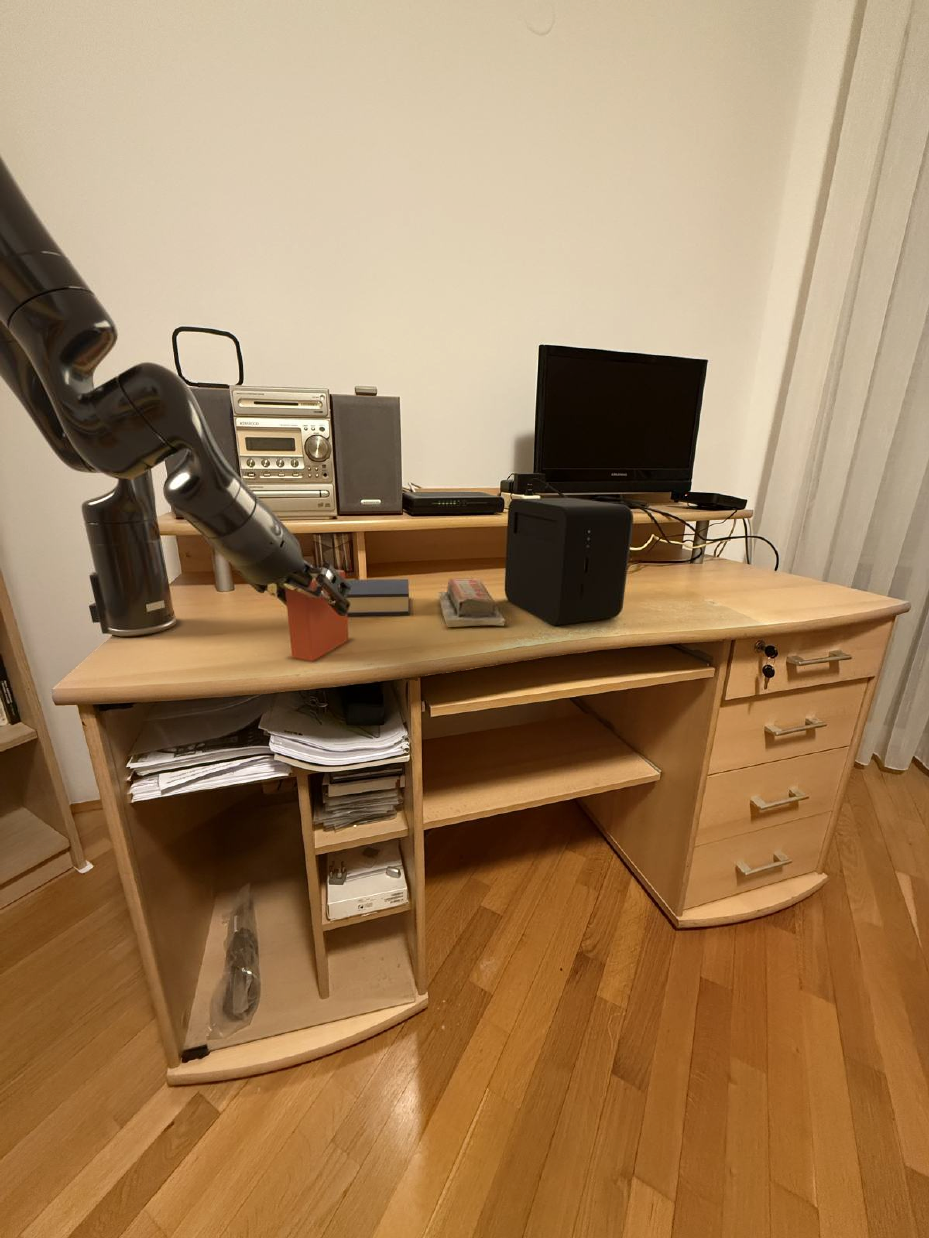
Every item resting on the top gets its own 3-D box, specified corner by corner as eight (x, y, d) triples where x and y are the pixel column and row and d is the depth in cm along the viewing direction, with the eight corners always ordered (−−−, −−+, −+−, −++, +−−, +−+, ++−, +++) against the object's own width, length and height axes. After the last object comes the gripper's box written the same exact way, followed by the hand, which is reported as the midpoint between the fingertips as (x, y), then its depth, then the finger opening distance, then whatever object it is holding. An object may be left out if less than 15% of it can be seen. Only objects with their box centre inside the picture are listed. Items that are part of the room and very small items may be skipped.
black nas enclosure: (628, 620, 87) (642, 506, 81) (558, 629, 82) (568, 507, 76) (564, 592, 105) (572, 496, 99) (503, 598, 100) (508, 497, 93)
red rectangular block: (312, 661, 67) (305, 584, 64) (291, 657, 69) (284, 581, 65) (349, 640, 76) (345, 570, 72) (330, 637, 77) (325, 568, 73)
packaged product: (437, 575, 97) (487, 575, 98) (437, 599, 98) (486, 598, 100) (446, 600, 80) (506, 599, 81) (446, 628, 81) (505, 627, 83)
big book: (329, 616, 87) (328, 594, 85) (337, 599, 97) (336, 580, 96) (409, 615, 88) (408, 593, 87) (408, 598, 99) (408, 579, 97)
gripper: (190, 559, 57) (269, 623, 71) (289, 570, 53) (353, 636, 66) (219, 509, 61) (290, 580, 74) (315, 515, 56) (372, 589, 70)
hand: (320, 606), depth 70 cm, fingers open, 8 cm apart
